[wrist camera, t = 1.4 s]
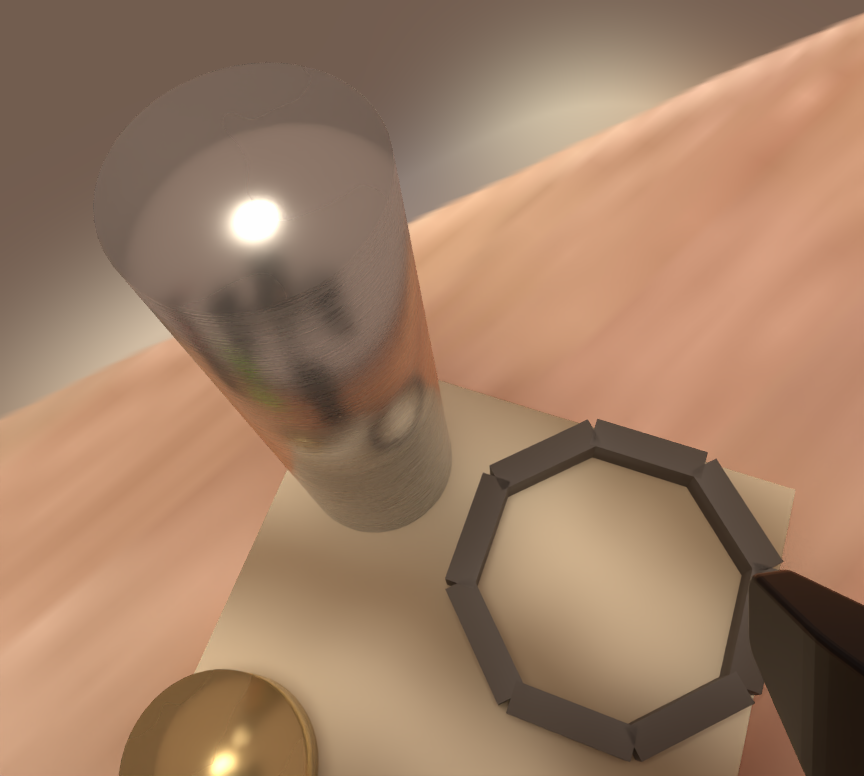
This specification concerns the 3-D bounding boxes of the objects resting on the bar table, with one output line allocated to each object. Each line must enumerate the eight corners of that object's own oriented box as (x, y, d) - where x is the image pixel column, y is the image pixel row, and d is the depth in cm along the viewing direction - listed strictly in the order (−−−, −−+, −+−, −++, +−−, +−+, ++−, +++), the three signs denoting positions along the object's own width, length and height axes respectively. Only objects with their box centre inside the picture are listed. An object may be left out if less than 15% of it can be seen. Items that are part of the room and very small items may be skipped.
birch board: (656, 1115, 17) (673, 1161, 15) (127, 853, 20) (89, 866, 18) (783, 499, 22) (808, 479, 21) (347, 363, 25) (335, 335, 24)
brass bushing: (272, 902, 19) (254, 917, 17) (113, 825, 20) (83, 832, 18) (346, 710, 20) (335, 709, 19) (195, 647, 21) (173, 642, 20)
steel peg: (421, 553, 22) (318, 349, 10) (282, 504, 23) (36, 262, 11) (472, 416, 23) (438, 96, 11) (340, 374, 24) (181, 38, 12)
